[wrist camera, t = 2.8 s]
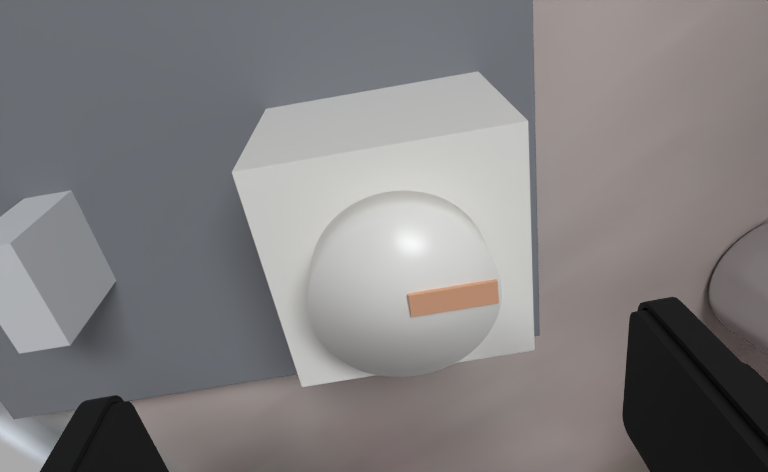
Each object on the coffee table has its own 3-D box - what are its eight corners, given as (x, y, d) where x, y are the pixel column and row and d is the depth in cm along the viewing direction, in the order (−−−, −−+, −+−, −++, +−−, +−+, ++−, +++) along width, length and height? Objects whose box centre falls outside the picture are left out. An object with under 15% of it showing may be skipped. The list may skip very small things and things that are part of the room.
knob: (314, 283, 19) (296, 430, 13) (265, 109, 16) (215, 200, 10) (491, 254, 19) (552, 390, 13) (478, 71, 16) (550, 143, 10)
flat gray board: (-192, 35, 16) (-421, 72, 11) (510, -96, 16) (580, -115, 11) (39, 383, 24) (-42, 496, 19) (525, 305, 23) (571, 401, 18)
